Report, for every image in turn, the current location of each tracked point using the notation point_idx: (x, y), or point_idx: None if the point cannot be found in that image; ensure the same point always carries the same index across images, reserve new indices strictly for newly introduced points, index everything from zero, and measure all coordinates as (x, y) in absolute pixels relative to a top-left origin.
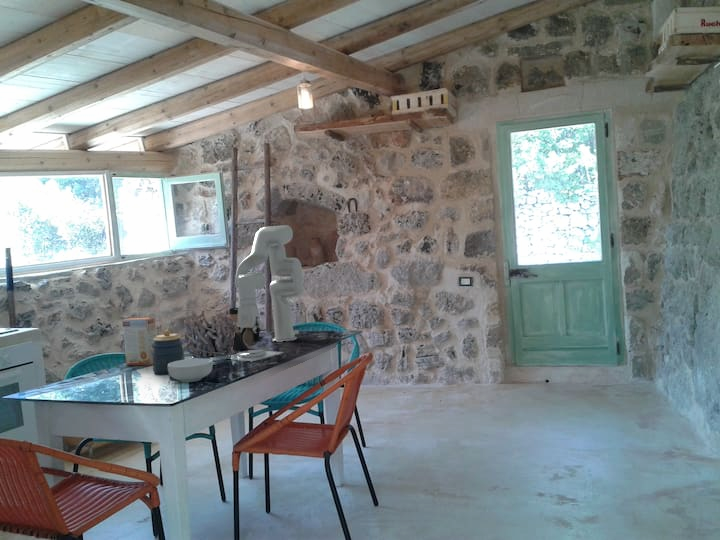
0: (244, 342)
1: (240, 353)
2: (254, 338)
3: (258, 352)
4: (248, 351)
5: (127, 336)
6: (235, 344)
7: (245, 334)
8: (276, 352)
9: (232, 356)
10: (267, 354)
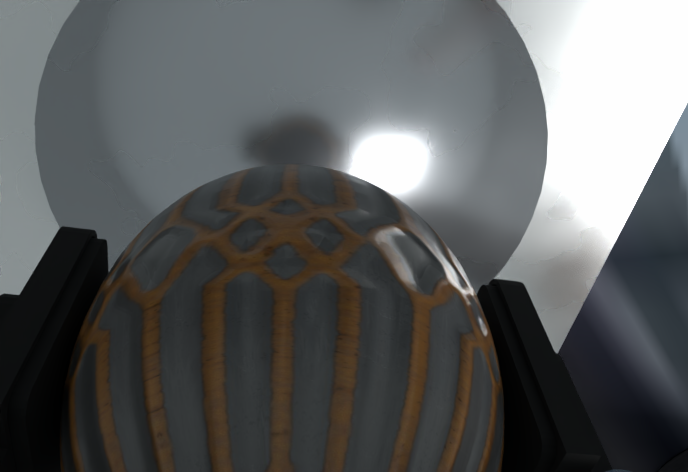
0: (372, 185)
1: (464, 76)
2: (28, 283)
3: (160, 195)
4: None
5: None
6: None
7: (306, 323)
8: None
9: (607, 8)
10: (56, 230)
